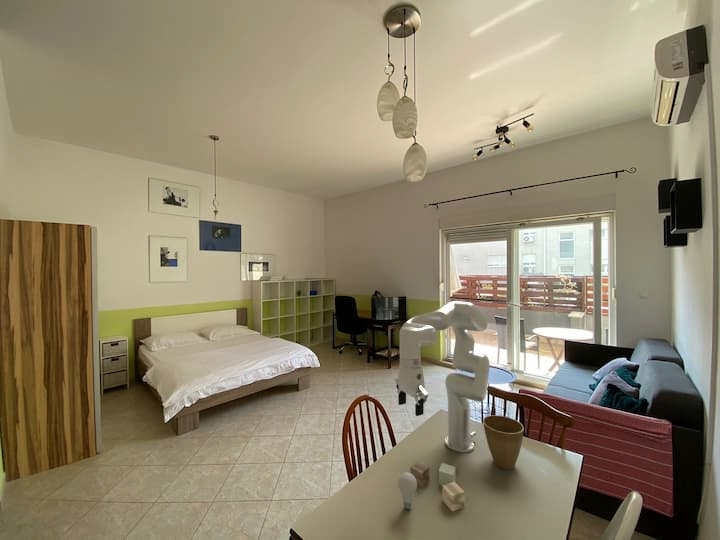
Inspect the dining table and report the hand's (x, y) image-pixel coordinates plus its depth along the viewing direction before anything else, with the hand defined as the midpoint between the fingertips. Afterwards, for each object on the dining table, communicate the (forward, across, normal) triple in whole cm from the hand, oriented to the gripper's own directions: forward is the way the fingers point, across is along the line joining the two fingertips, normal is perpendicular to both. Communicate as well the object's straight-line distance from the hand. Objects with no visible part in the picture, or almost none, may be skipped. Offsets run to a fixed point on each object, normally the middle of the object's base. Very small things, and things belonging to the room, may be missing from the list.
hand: (410, 409), depth 104 cm
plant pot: (+28, -7, -42) cm, 51 cm away
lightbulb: (+28, -7, +7) cm, 30 cm away
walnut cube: (+28, +1, -5) cm, 29 cm away
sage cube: (+28, -4, -13) cm, 31 cm away
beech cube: (+28, -12, -8) cm, 32 cm away
